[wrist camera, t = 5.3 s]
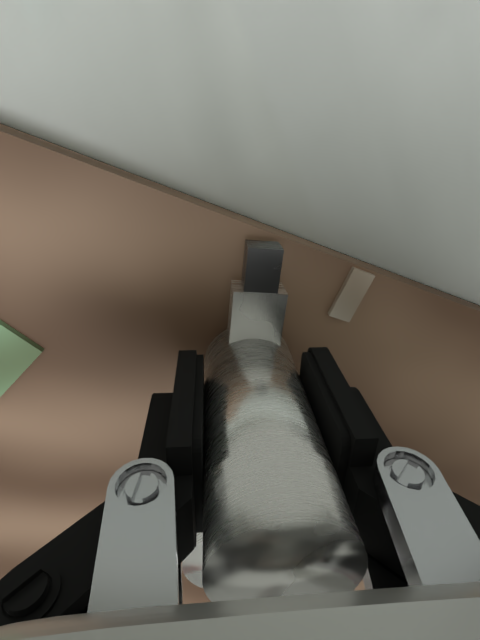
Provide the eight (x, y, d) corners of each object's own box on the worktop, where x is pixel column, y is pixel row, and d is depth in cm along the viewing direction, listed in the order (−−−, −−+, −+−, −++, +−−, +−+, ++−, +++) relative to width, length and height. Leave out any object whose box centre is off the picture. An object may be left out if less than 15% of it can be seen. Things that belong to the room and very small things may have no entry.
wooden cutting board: (334, 647, 26) (340, 672, 25) (-74, 607, 20) (-92, 638, 19) (605, 353, 16) (638, 371, 15) (-51, 104, 10) (-87, 100, 9)
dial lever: (266, 553, 18) (298, 776, 12) (183, 555, 17) (170, 788, 11) (326, 244, 11) (477, 382, 5) (193, 235, 11) (176, 374, 4)
